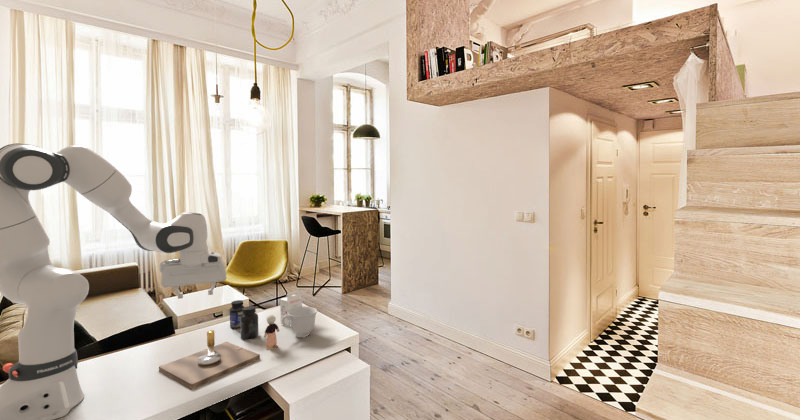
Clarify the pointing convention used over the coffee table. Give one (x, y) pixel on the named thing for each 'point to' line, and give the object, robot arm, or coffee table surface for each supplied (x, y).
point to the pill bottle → (236, 314)
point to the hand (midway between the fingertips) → (195, 296)
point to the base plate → (197, 375)
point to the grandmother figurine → (271, 333)
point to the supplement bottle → (249, 323)
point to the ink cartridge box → (290, 304)
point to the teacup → (301, 320)
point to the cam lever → (209, 351)
